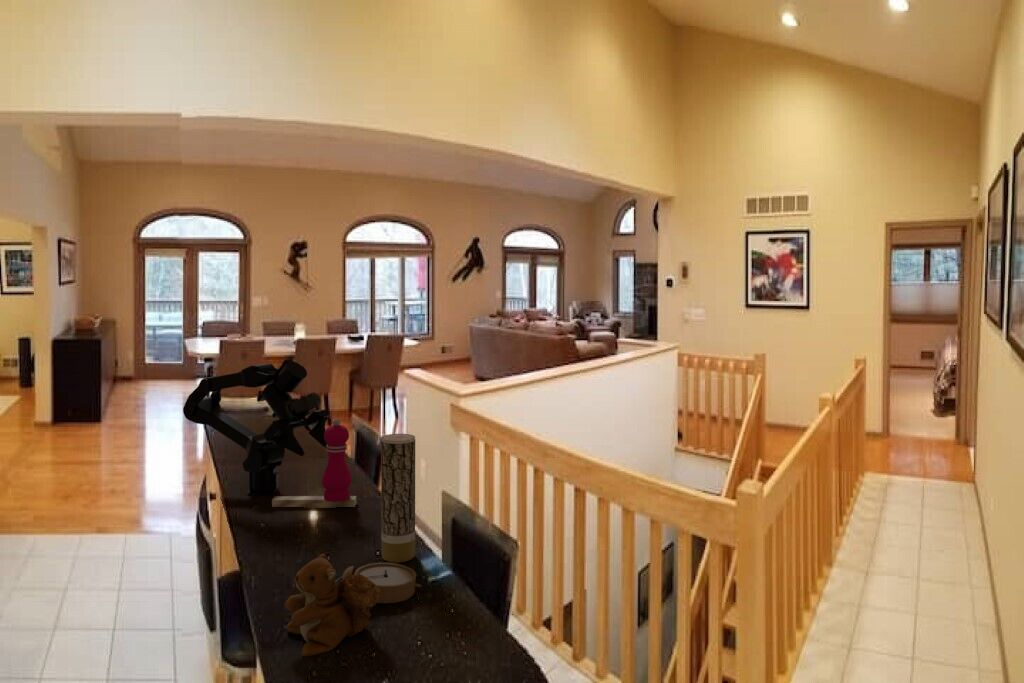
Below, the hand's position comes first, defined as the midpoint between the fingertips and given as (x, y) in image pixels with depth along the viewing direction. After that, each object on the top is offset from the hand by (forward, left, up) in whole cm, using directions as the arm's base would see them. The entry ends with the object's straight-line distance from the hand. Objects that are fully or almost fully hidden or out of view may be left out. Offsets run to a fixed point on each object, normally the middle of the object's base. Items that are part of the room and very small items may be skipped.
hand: (316, 451), depth 179 cm
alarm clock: (+22, -53, -13) cm, 59 cm away
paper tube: (+24, -36, -13) cm, 46 cm away
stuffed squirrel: (+17, -68, -13) cm, 71 cm away
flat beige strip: (0, -3, -13) cm, 13 cm away
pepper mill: (+6, -4, -11) cm, 13 cm away
